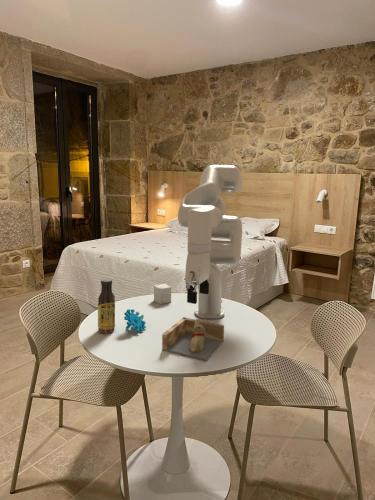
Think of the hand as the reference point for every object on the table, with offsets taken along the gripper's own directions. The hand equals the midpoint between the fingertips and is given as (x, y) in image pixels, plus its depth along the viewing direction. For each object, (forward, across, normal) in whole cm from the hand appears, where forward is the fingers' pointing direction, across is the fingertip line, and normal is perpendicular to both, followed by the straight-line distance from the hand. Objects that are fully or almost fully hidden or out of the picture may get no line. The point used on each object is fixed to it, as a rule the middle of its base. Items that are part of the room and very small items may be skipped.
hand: (198, 298), depth 122 cm
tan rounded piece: (+18, +1, 0) cm, 18 cm away
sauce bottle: (+19, +3, -36) cm, 41 cm away
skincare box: (+19, -34, -33) cm, 51 cm away
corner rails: (+18, -1, -2) cm, 18 cm away
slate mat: (+18, -1, -2) cm, 18 cm away
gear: (+19, -3, -27) cm, 33 cm away
